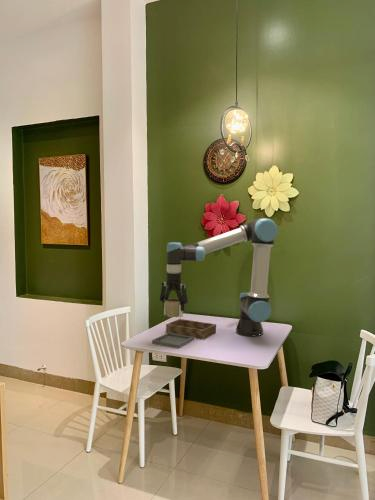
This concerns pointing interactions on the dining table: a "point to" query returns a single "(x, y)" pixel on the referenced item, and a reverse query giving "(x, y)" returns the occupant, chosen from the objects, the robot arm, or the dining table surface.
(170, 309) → the flower pot
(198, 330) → the walled box
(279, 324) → the dining table surface
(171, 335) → the tray
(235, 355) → the dining table surface
